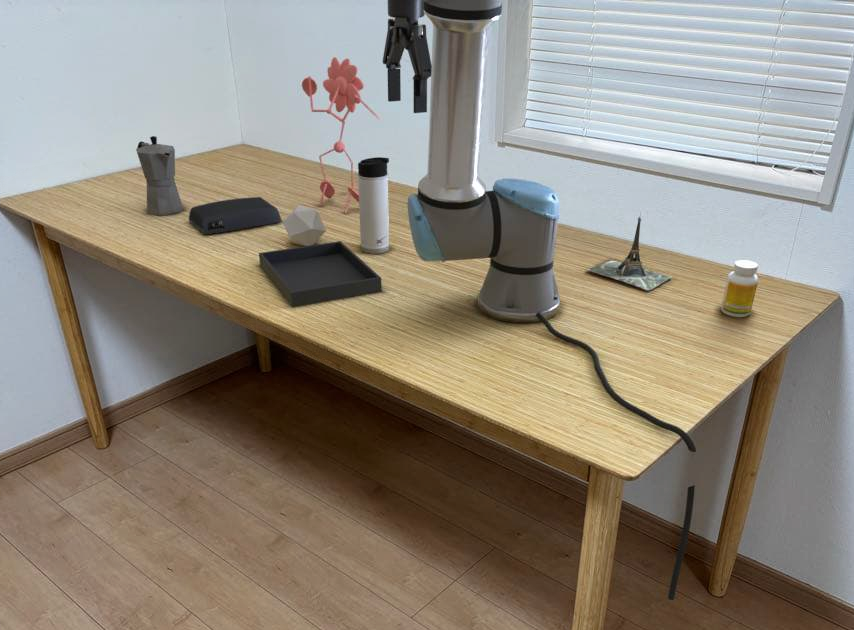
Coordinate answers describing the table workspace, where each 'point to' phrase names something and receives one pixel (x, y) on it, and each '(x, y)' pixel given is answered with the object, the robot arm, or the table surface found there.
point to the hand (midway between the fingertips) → (406, 106)
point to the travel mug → (373, 205)
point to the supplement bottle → (740, 289)
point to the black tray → (319, 273)
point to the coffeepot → (159, 177)
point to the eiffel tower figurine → (632, 268)
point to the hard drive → (233, 215)
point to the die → (304, 226)
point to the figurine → (338, 109)
